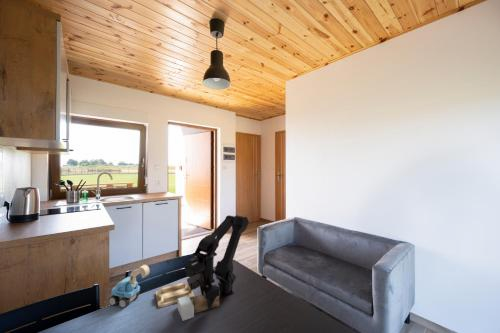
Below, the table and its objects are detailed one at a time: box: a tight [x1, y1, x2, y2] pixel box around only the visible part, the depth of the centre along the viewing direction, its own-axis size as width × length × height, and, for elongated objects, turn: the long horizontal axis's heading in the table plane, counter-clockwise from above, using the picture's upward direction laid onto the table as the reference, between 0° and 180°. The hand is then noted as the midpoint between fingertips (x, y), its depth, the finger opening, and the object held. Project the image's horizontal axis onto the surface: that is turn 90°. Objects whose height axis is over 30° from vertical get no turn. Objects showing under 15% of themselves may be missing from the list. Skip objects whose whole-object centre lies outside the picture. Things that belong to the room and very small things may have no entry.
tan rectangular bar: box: [192, 294, 220, 314], centre depth 97 cm, size 11×4×4 cm, turn 119°
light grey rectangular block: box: [177, 295, 195, 322], centre depth 92 cm, size 9×4×4 cm, turn 32°
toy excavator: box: [108, 264, 150, 309], centre depth 98 cm, size 9×17×17 cm, turn 78°
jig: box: [155, 282, 196, 309], centre depth 103 cm, size 16×12×3 cm
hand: (206, 302), depth 97 cm, fingers open, 9 cm apart
